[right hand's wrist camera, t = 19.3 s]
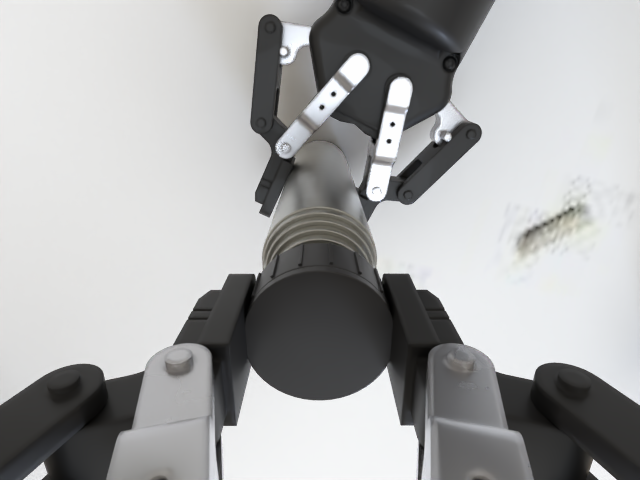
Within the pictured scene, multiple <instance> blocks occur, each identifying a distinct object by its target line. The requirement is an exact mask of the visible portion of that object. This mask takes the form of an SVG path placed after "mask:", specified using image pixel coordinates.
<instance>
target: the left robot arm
mask: <svg viewBox="0 0 640 480" xmlns="http://www.w3.org/2000/svg"><path fill="white" fill-rule="evenodd" d="M494 2H495V0H334V1H333V3H332V5H331V7H330V8H329V10H328V11H327V12H326V13H325V14H324V15H323V16H322V17H320V18H319V19H318V20H317V21H316V22H315V23H314V24H313V26H306V25H300V24H294V23H288V22H282V21H280V20H279V19H278V17H276V16H275V15H272V14H268V15H265V16H263V17H262V18H261V20H260V22H259V26H258V38H257V50H256V62H255V74H254V86H253V98H252V109H251V121H250V123H251V127H252V129H253V130H254V131H255V132H256V133H258V134H260V135H261V136H262V137H263V138H264V139H265V140H266V141H267V142H268V143H269V145H270V147H271V151H272V154H271V157H270V160H269V162H268V164H267V167H266V169H265V171H264V174H263V176H262V178H261V180H260V183H259V185H258V187H257V190H256V192H255V201H256V202H258V203H260V204H263V205H262V207H261V210H260V212H259V213H260V214H262V215H265V216H267V217H270V215H271V213H272V211H273V209H274V206H275V204H276V202H277V200H278V198H279V196H280V193H281V191H282V189H283V187H284V185H285V182H286V180H287V178H288V176H289V174H290V172H291V169H292V167H293V165H294V162H295V159H296V158H295V157H294V155H295V154H296V152H297V151H298V150H299V149H300V148H301V147H302V146H303V144H304V143H305V142H306V141H307V140H308V139H309V138H310V137H311V135H312V134H313V133H314V132H315V131H316V130H317V129H318V128H319V127H320V126H321V125H322V124H323V123H324V122H325V120H326V119H327V118H328V117H329V116H331V117H333V118H335V119H337V120H339V121H342V122H347V123H352V124H355V125H356V126H357V127H358V128H360V129H361V130H362V131H363V132H364V133H365V134H367V135H369V136H370V140H369V145H368V155H367V161H366V166H365V171H364V176H363V181H362V183H361V185H360V187H359V188H357V187H356V190H357V193H358V196H359V199H360V202H361V205H362V208H363V211H364V214H365V217H366V220H367V222H368V220H369V218H370V216H371V215H372V213H373V211H374V209H375V207H376V206H377V205H378V204H379V203H380V202H382V201H385V200H391V201H400V202H401V203H403V204H405V205H409V204H412V203H414V202H415V201H416V200H417V199H418V198H419V197H420V196H421V195H422V194H423V193H424V192H425V191H427V190H428V189H429V188H430V187H431V186H432V185H433V184H434V183H435V182H436V181H437V180H438V179H439V178H440V177H441V176H442V175H443V174H444V173H445V172H446V171H447V170H449V169H450V168H451V167H452V166H453V165H454V164H455V163H456V162H457V161H458V160H459V159H460V158H461V157H462V156H463V155H464V154H465V153H466V152H467V151H468V150H469V149H471V148H472V147H473V146H474V145H475V144H476V143H477V142H478V141H479V139H480V138H481V134H482V131H481V128H480V126H479V125H477V124H475V123H472V122H470V121H468V120H467V119H466V118H465V117H464V116H463V115H462V114H461V113H460V112H459V111H458V109H457V108H456V107H455V106H454V105H453V104H452V103H451V102H450V101H449V100H450V98H451V94H452V82H453V77H454V74H455V72H456V70H457V68H458V66H459V64H460V63H461V61H462V59H463V57H464V56H465V54H466V52H467V50H468V48H469V47H470V45H471V43H472V41H473V39H474V38H475V36H476V34H477V32H478V30H479V29H480V27H481V25H482V23H483V21H484V20H485V18H486V16H487V14H488V12H489V11H490V9H491V7H492V5H493V3H494ZM305 46H310V52H311V58H312V63H313V69H314V75H315V81H316V87H317V92H318V93H317V95H316V96H315V97H314V98H313V99H312V100H311V102H310V103H309V104H308V105H307V106H306V107H305V109H304V110H303V111H302V112H301V113H300V115H299V116H298V117H297V118H296V119H295V120H294V122H293V123H292V124H291V125H290V126H289V127H288V128H287V127H286V126H285V125H284V124H283V123H282V122H281V121H280V120H279V119H278V118H277V111H278V102H279V92H280V83H281V74H282V65H290V64H292V63H293V62H294V61H295V59H296V56H297V53H298V51H299V50H300V49H301V48H303V47H305ZM320 105H321V106H320ZM434 114H435V116H436V123H435V125H434V126H433V128H432V129H431V132H430V138H431V140H432V142H431V143H430V144H429V145H428V146H427V147H426V148H425V149H424V150H423V151H422V152H421V153H420V154H419V155H418V156H417V157H416V158H415V159H414V160H413V161H412V162H411V163H410V164H409V165H408V166H407V167H406V168H405V169H404V170H403V171H402V172H401V173H400V174H399V175H398V176H397V177H395V176H390V175H391V171H392V167H393V164H394V163H395V160H396V157H397V152H398V148H399V144H400V139H401V135H402V132H403V131H405V130H406V129H408V128H410V127H412V126H414V125H416V124H418V123H419V122H421V121H423V120H425V119H427V118H429V117H431V116H433V115H434Z"/></svg>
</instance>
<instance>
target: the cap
mask: <svg viewBox="0 0 640 480" xmlns="http://www.w3.org/2000/svg"><path fill="white" fill-rule="evenodd" d="M392 329H393V316H392V313H391V309H390V306H389V303H388V300H387V297H386V293H385V290H384V287H383V284H382V281H381V279H380V277H379V274H378V271H377V269H376V268H373V267H372V265H371V264H370V263H369V262H368V261H367V260H365V259H364V258H363V257H361V256H360V255H359V254H358V252H356V251H355V252H353V251H352V250H349V249H347V248H344V247H341V246H338V245H334V244H332V243H328V244H326V243H313V244H305V245H303V244H300V246H297V247H294V248H292V249H289V250H287V251H285V252H283V253H281V254H280V255H278V254H277V255H276V256H275V258H274V259H273V260H272V261H271V262H270V263H269V264H268V265H267V266H266V267H265V269H264V270H263V271H262V273H259V274H258V277H257V280H256V283H255V286H254V289H253V292H252V296H251V301H250V304H249V308H248V311H247V314H246V317H245V333H246V346H247V358H248V360H249V362H250V364H251V366H252V367H253V369H254V370H255V371H256V373H257V374H258V375H259V376H260V377H261V378H262V379H263V380H264V381H265V382H267V383H268V384H269V385H270V386H272V387H274V388H275V389H277V390H279V391H281V392H283V393H285V394H288V395H291V396H293V397H297V398H302V399H308V400H332V399H337V398H342V397H345V396H348V395H351V394H353V393H356V392H358V391H360V390H361V389H363V388H365V387H367V386H368V385H369V384H371V383H372V382H373V381H374V380H375V379H376V378H377V377H379V376H380V374H381V373H382V372H383V371H384V369H385V368H386V366H387V365H388V363H389V361H390V356H391V343H392Z"/></svg>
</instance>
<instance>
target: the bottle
mask: <svg viewBox="0 0 640 480" xmlns="http://www.w3.org/2000/svg"><path fill="white" fill-rule="evenodd" d="M295 158H296V159H295V162H294V165H293V167H292V169H291V172H290V174H289V176H288V178H287V180H286V182H285V185H284V188H283V191H282V194H281V197H280V200H279V203H278V206H277V209H276V211H275V214H274V217H273V220H272V223H271V226H270V229H269V232H268V235H267V238H266V241H265V243H264V247H263V253H262V264H263V270H264V269H265V267H266V266H267V265H268V264H269V263H270V262H271V261H272V260H273V259H274V258H275V256H276V255H277V254H278V255H280V254H281V253H283V252H285V251H287V250H289V249H292V248H294V247H297V246H300V244H303V245H305V244H313V243H326V244H328V243H332V244H334V245H338V246H341V247H344V248H347V249H349V250H352V251H353V252H355V251H356V252H358V254H359V255H360V256H361V257H363V258H364V259H365V260H367V261H368V262H369V263H370V264H371V265H372V267H373V268H376V264H377V254H376V248H375V244H374V241H373V238H372V235H371V232H370V229H369V226H368V223H367V220H366V217H365V214H364V211H363V208H362V205H361V202H360V199H359V196H358V193H357V190H356V187H355V184H354V181H353V178H352V175H351V172H350V169H349V166H348V163H347V160H346V158H345V156H344V154H343V152H342V151H341V150H340V149H339V148H338V147H337V146H336V145H334V144H332V143H330V142H327V141H322V140H318V141H312V142H309V143H307V144H305V145H304V146H302V147H301V148H300V149H299V150H298V152H297V153H296V155H295Z"/></svg>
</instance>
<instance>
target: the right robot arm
mask: <svg viewBox="0 0 640 480" xmlns="http://www.w3.org/2000/svg"><path fill="white" fill-rule="evenodd" d="M255 283H256V279H255V275H254V274H229V275H228V277H227V279H226V281H225V284H224V286H223V288H222V290H210V291H209V292H208V293H206V294H205V295H204V296H202V297H201V298H199V300H198V301H197V303H196V305H195V307H194V308H193V311H192V312H191V314H190V316H189V317H188V320H187V321H186V323H185V325H184V326H183V328H182V330H181V332H180V334H179V335H178V337H177V339H176V341H175V343H174V344H173V346H170V347H167V348H165V349H163V350H161V351H159V352H158V353H156V354H155V355H154V356H153V357H152V358H151V359H150V360H149V361H148V363H147V365H146V368H145V371H143V372H140V373H137V374H133V375H129V376H125V377H120V378H115V379H110V380H106V381H105V378H104V374H103V371H102V370H101V369H100V368H99V367H97V366H95V365H91V364H76V365H70V366H66V367H63V368H60V369H57V370H55V371H52V372H50V373H48V374H46V375H45V376H43V377H42V378H40V379H39V380H37V381H36V382H34V383H33V384H31V385H30V386H28V387H27V388H25V389H24V390H22V391H21V392H19V393H18V394H16V395H15V396H14V397H12V398H11V399H9V400H8V401H6V402H5V403H3V404H2V405H0V480H23V479H24V478H25V477H27V476H28V475H29V474H30V473H31V472H32V471H33V470H34V469H36V468H37V467H38V466H39V465H40V464H41V463H42V462H44V464H45V467H46V470H47V473H48V474H47V475H46V476H45V477H44V478H43V479H42V480H224V474H223V448H222V440H221V432H222V428H223V426H237V421H238V417H239V413H240V409H241V405H242V401H243V397H244V393H245V388H246V384H247V380H248V376H249V372H250V368H251V364H250V362H249V360H248V358H247V346H246V333H245V317H246V314H247V311H248V308H249V304H250V301H251V296H252V292H253V289H254V286H255ZM382 284H383V287H384V290H385V293H386V297H387V300H388V303H389V306H390V309H391V313H392V316H393V329H392V343H391V356H390V361H389V363H388V365H387V368H388V373H389V377H390V381H391V385H392V390H393V394H394V398H395V402H396V407H397V411H398V415H399V419H400V424H401V425H414V427H415V431H416V435H417V438H418V448H417V474H416V480H598V479H597V478H596V477H595V476H594V475H593V474H592V473H590V472H589V470H590V467H591V464H592V461H593V459H594V460H595V461H596V462H598V463H599V464H600V465H601V466H602V467H603V468H604V469H605V470H607V471H608V472H609V473H610V474H611V475H612V476H613V477H615V478H616V479H617V480H640V405H638V404H637V403H635V402H634V401H632V400H631V399H629V398H628V397H626V396H625V395H624V394H622V393H621V392H619V391H618V390H616V389H615V388H613V387H612V386H610V385H609V384H607V383H606V382H604V381H603V380H601V379H600V378H599V377H597V376H595V375H594V374H592V373H590V372H588V371H586V370H584V369H581V368H579V367H576V366H573V365H569V364H563V363H547V364H543V365H541V366H539V367H538V368H537V369H536V372H535V375H534V380H529V379H524V378H519V377H514V376H510V375H505V374H501V373H498V372H495V368H494V365H493V363H492V361H491V360H490V359H489V358H488V357H487V356H486V355H485V354H484V353H482V352H481V351H479V350H477V349H475V348H473V347H470V346H467V345H464V344H463V342H462V340H461V338H460V336H459V334H458V333H457V331H456V329H455V327H454V325H453V324H452V322H451V320H449V316H448V314H447V313H446V311H445V310H444V307H443V305H442V303H441V302H440V300H439V298H437V297H436V296H435V295H433V294H432V293H431V292H429V291H428V290H416V288H415V286H414V284H413V282H412V280H411V277H410V275H409V274H383V278H382Z"/></svg>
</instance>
